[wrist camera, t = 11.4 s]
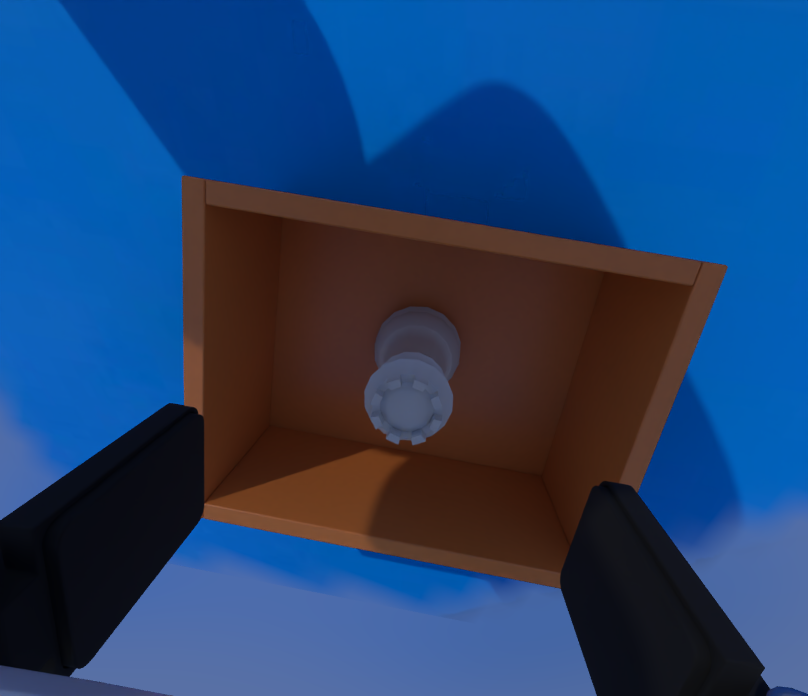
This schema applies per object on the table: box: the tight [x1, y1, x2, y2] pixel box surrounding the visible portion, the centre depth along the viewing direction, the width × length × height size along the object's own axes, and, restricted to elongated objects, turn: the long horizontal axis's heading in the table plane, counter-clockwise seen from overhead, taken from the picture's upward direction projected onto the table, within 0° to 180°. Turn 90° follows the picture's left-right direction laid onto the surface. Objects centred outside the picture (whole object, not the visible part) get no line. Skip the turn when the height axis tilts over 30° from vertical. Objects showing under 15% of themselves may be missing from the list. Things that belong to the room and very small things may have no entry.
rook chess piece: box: [364, 306, 461, 445], centre depth 18 cm, size 4×4×8 cm
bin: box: [182, 175, 728, 589], centre depth 18 cm, size 18×14×8 cm
